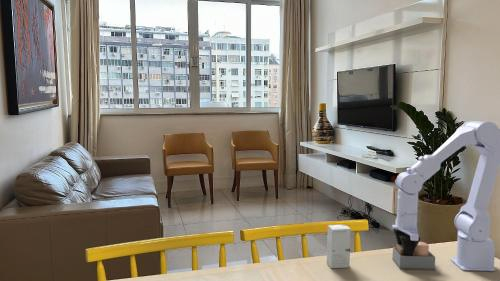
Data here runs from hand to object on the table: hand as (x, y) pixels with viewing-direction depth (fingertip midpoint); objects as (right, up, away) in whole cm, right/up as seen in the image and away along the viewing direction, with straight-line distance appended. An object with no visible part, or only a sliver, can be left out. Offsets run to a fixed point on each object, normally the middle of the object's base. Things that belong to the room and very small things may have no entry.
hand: (405, 255), depth 116 cm
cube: (0, -1, 0) cm, 1 cm away
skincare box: (-21, -3, 0) cm, 21 cm away
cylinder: (+5, -2, 0) cm, 5 cm away
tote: (+2, -3, 0) cm, 4 cm away
